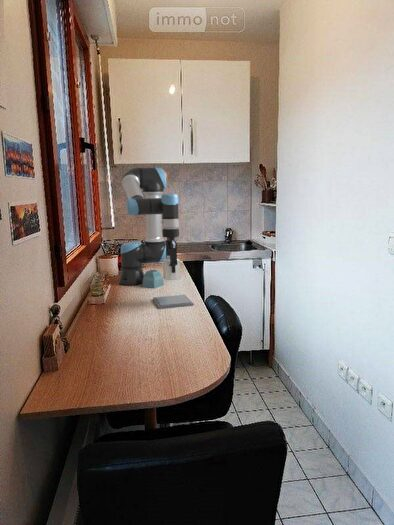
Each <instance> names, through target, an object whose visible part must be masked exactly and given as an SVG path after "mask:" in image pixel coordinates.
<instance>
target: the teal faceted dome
mask: <svg viewBox="0 0 394 525" xmlns="http://www.w3.org/2000/svg"><path fill="white" fill-rule="evenodd" d="M162 286H164V277H163V275H162V273H161V272H160V270H157V269H150V270H147V271H145V273H144V277H143V283H142V288H146V289H152V290H153V289H157V288H159V287H162Z"/></svg>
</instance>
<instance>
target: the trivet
mask: <svg viewBox="0 0 394 525" xmlns="http://www.w3.org/2000/svg"><path fill="white" fill-rule="evenodd" d="M152 301H153V302H154V304H155V305H156V307H157V308H158V309H159V310H160V309H161V310H163V309H171V308H181V307H183V308H184V307H191V306H194V302H193V301H192V300H191V299H190V298H189V297H187V295H186V294H177V295H166V296H155V297H152Z"/></svg>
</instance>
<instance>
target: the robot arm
mask: <svg viewBox="0 0 394 525" xmlns="http://www.w3.org/2000/svg"><path fill="white" fill-rule="evenodd" d="M120 182H121V186H122V188H123V190H125V193H126V196H127V199H126V201H125V210H126V214H127V215H129V216H143V215H145V216H146V238H145V239H144V242H143V243H142V242H141V241H140V240H136V241H131V242H130V241H129V242H125V243H122V244H121V246H120V260H121V270H120V274H119V278H118V279H119V280H118V282H119V284H120V285H125V286H135V285H141V284H142V285H143V277H144V275H145V273H144V271H143V264H160V263H163V259H167V256H170V265H169V266H170V280H169V281H176V265H177V258H178V248H177V247H178V243H177V241H176V238H178V237H179V236H180V229H179V227H180V219H179V217H180V216H179V195H178V194H177V193H164V190H166V189H167V177H166V173H165V171H164V169H163V168H161V167H132V168H130V169H129V170H127V171H126V172H125V173H123V175H122V177H121V181H120ZM143 194H144V195H145V197H144V195H143ZM164 238H166V239H164Z"/></svg>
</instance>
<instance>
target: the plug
mask: <svg viewBox="0 0 394 525" xmlns="http://www.w3.org/2000/svg"><path fill="white" fill-rule="evenodd" d="M169 265H170V256H167V259H163V262H162V270H163V275H162V278H163V280H165V281H171V280H170V266H169ZM176 280H177V281H179V280H181V260H180V259H179V258H178V257H177V265H176ZM176 280H175V281H176Z"/></svg>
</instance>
